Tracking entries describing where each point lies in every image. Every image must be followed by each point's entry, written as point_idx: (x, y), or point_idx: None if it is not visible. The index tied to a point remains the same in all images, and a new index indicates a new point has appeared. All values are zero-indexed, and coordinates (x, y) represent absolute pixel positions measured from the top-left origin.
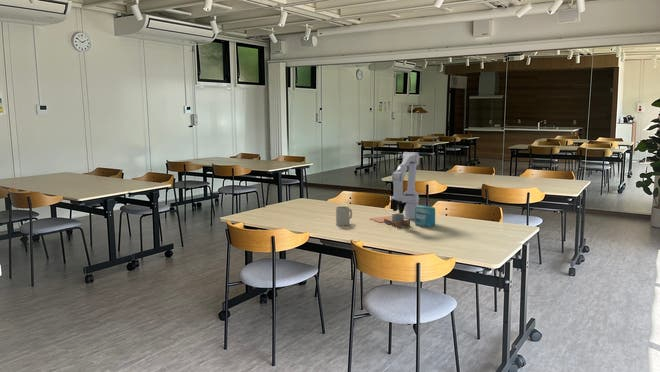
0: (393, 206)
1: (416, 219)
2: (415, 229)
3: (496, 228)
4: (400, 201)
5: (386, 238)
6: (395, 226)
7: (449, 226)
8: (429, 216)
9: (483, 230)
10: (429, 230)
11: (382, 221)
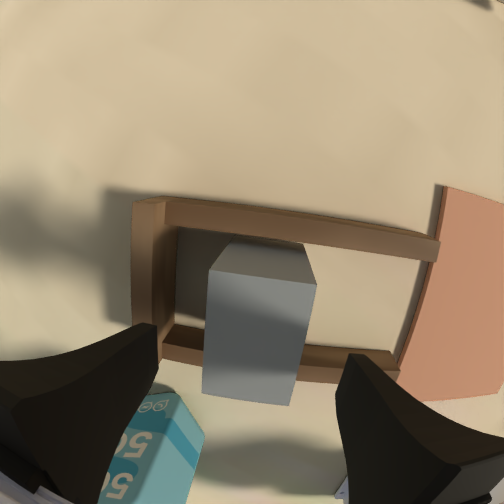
0: (375, 404)
1: (155, 422)
2: (61, 294)
3: None
4: (8, 467)
5: (11, 12)
6: (178, 198)
7: None
8: None
9: None
10: (28, 340)
11: (445, 231)
